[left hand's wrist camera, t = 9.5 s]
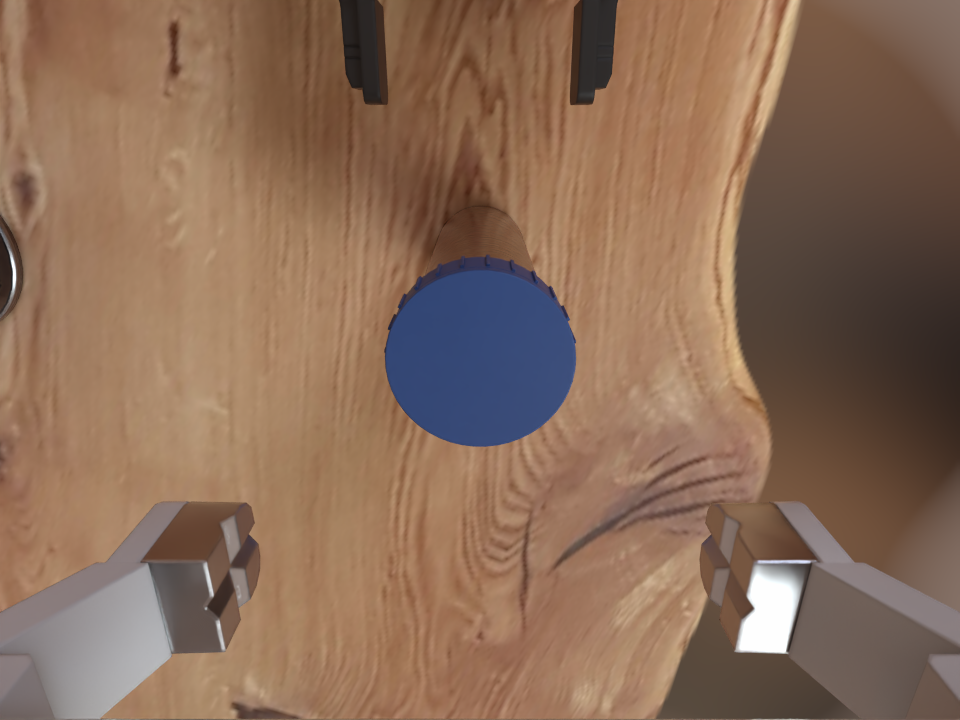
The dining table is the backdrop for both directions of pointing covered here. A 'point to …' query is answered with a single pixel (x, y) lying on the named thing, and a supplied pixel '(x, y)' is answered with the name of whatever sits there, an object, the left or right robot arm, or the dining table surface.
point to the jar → (480, 238)
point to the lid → (480, 352)
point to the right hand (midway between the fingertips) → (479, 104)
